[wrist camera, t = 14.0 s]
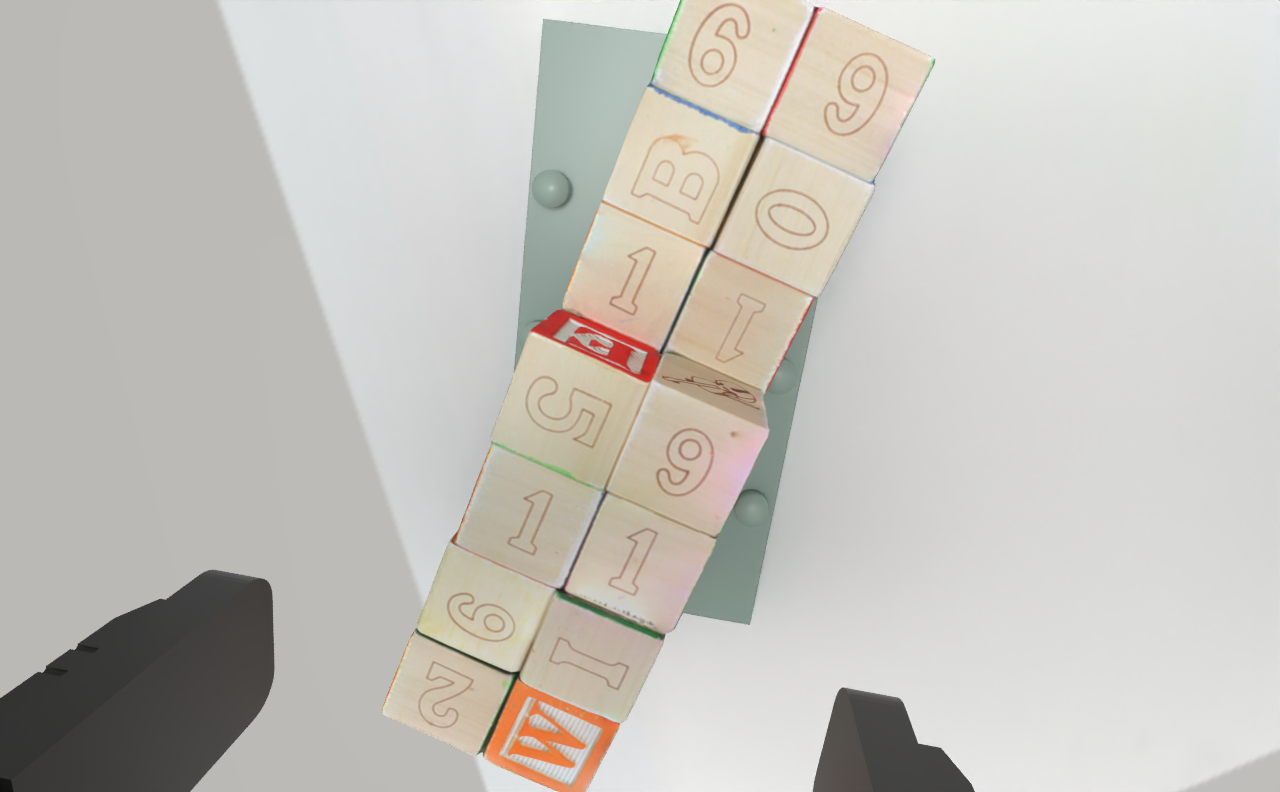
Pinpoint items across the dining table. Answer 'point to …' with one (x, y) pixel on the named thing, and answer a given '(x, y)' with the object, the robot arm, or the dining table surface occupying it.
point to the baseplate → (557, 228)
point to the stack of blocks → (652, 381)
